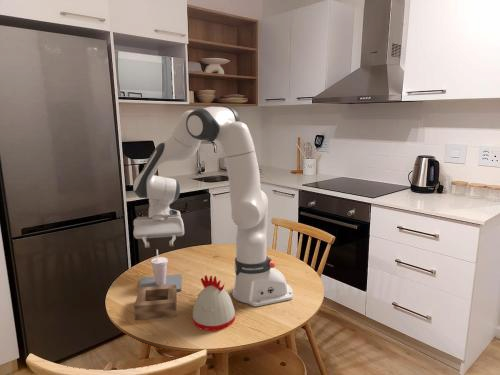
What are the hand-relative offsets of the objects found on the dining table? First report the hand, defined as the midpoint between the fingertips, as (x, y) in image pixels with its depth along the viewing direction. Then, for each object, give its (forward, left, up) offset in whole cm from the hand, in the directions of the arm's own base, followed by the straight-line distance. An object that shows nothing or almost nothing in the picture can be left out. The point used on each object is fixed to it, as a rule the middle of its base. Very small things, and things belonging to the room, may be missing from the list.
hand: (159, 246), depth 146 cm
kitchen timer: (-19, +33, -15) cm, 41 cm away
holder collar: (0, +23, -14) cm, 27 cm away
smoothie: (0, +5, -14) cm, 15 cm away
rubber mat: (0, +5, -14) cm, 15 cm away
